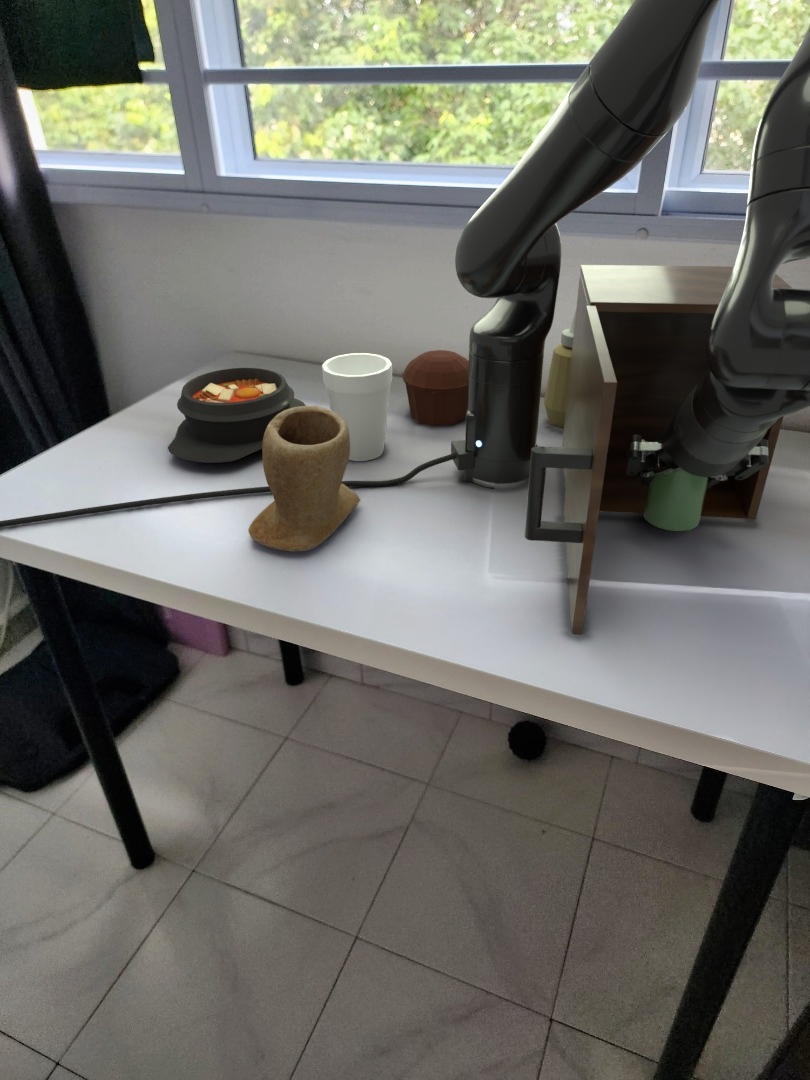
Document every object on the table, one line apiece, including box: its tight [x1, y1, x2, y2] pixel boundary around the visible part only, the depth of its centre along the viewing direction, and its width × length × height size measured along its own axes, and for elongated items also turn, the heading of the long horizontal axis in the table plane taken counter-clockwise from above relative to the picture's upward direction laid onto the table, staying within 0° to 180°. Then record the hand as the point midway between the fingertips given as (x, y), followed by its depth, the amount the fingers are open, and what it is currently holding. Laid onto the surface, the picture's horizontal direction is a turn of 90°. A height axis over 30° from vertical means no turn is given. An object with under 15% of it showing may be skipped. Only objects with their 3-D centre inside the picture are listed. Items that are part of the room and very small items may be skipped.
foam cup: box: [321, 352, 393, 462], centre depth 105 cm, size 10×9×13 cm
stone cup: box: [247, 405, 361, 552], centre depth 87 cm, size 15×12×15 cm
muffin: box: [402, 349, 469, 427], centre depth 116 cm, size 12×11×10 cm
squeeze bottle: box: [543, 310, 576, 428], centre depth 110 cm, size 8×8×18 cm
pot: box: [642, 471, 709, 532], centre depth 84 cm, size 7×7×10 cm
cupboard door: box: [524, 306, 617, 635], centre depth 76 cm, size 6×22×26 cm, turn 172°
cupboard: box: [561, 264, 794, 520], centre depth 91 cm, size 17×22×26 cm
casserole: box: [167, 367, 307, 464], centre depth 111 cm, size 25×19×8 cm
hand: (674, 478), depth 86 cm, fingers closed on pot, 6 cm apart
